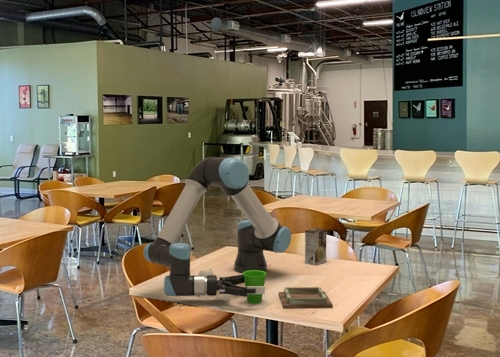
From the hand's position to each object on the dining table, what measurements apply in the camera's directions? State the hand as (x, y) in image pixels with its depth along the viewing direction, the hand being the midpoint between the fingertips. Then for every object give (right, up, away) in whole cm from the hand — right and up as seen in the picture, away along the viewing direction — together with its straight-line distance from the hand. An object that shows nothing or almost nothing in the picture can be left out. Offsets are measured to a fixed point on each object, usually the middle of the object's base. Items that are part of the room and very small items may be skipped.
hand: (263, 284), depth 207 cm
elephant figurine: (-24, -4, +24) cm, 34 cm away
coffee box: (+27, -1, +60) cm, 65 cm away
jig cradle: (+16, -6, +1) cm, 17 cm away
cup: (-3, -7, 0) cm, 8 cm away
